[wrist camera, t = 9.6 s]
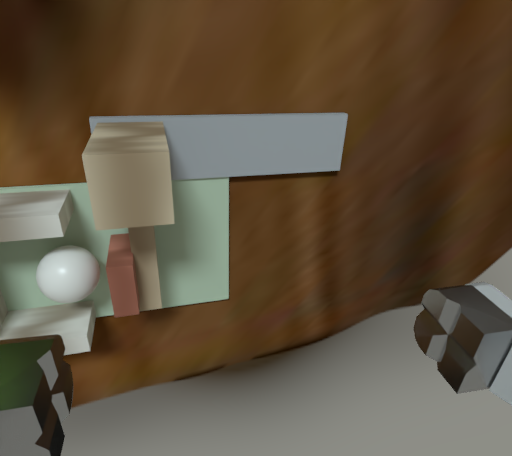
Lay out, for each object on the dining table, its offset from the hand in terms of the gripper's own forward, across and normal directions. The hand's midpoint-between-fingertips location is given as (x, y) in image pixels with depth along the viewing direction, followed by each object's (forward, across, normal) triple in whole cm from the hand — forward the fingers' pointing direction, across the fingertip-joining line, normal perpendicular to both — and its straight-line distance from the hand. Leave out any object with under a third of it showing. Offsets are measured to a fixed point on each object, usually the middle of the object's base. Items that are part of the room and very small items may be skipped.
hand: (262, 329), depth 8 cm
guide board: (+20, -3, +2) cm, 21 cm away
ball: (+18, +9, +10) cm, 22 cm away
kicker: (+19, +4, +6) cm, 21 cm away
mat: (+20, +6, +10) cm, 23 cm away
